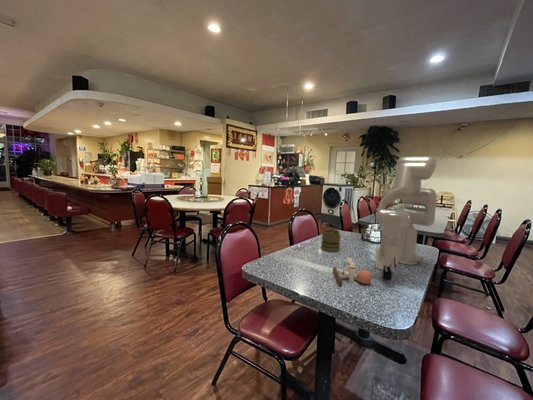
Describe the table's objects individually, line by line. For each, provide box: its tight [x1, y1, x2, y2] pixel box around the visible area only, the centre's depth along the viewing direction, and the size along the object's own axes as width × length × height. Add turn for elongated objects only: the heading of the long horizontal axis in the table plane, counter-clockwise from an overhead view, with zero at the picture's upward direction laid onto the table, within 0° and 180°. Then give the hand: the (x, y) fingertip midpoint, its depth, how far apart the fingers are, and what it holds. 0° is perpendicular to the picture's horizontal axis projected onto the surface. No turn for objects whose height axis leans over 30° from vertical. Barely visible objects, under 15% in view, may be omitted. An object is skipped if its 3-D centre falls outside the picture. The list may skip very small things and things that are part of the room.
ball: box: [356, 269, 373, 285], centre depth 108 cm, size 6×6×6 cm
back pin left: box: [348, 261, 356, 284], centre depth 109 cm, size 2×2×9 cm
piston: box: [321, 229, 341, 253], centre depth 156 cm, size 11×12×11 cm
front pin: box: [337, 268, 358, 281], centre depth 111 cm, size 2×2×9 cm
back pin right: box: [345, 257, 353, 279], centre depth 113 cm, size 2×2×9 cm
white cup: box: [375, 246, 383, 271], centre depth 128 cm, size 8×8×10 cm
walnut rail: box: [332, 266, 343, 288], centre depth 112 cm, size 1×16×2 cm, turn 174°
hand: (386, 279), depth 110 cm, fingers closed
